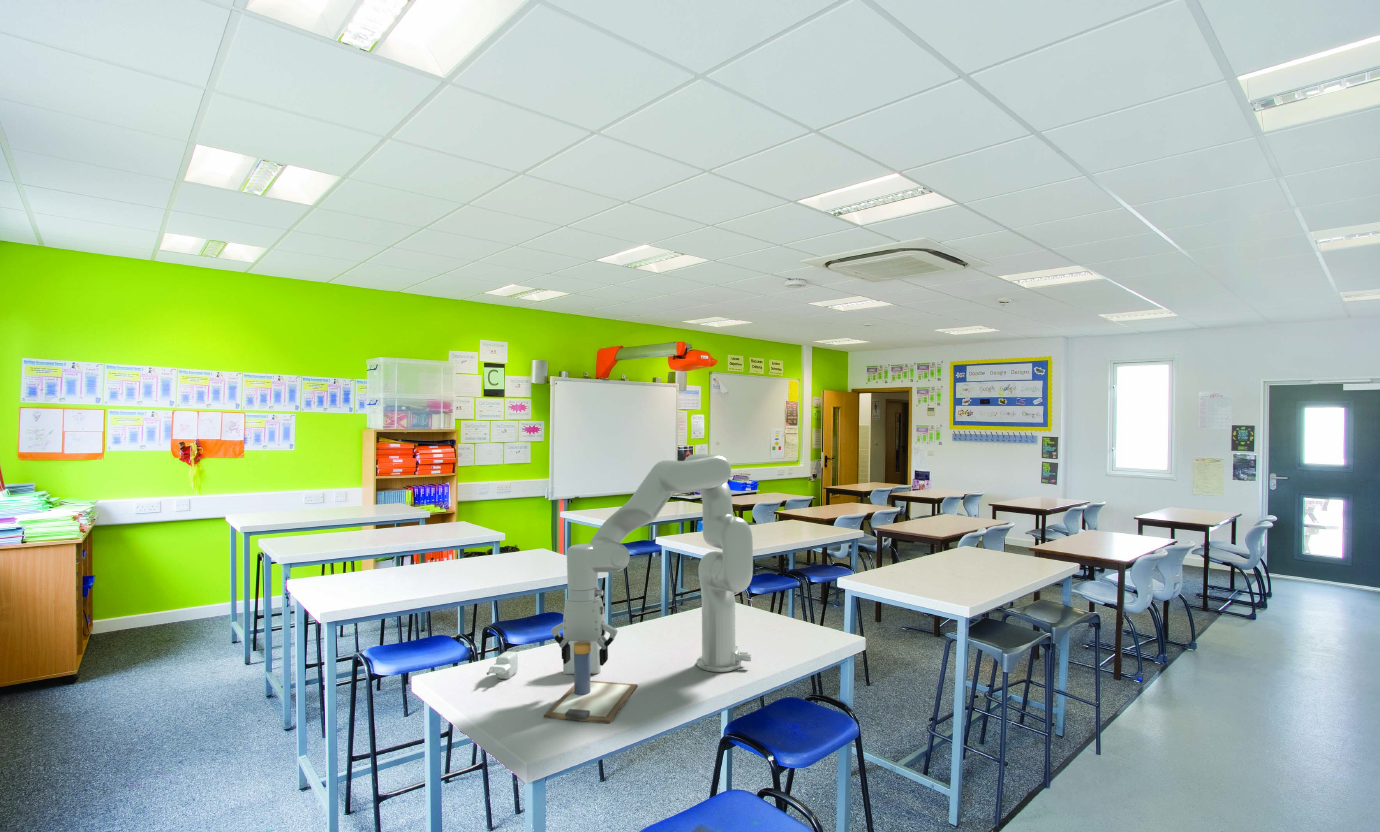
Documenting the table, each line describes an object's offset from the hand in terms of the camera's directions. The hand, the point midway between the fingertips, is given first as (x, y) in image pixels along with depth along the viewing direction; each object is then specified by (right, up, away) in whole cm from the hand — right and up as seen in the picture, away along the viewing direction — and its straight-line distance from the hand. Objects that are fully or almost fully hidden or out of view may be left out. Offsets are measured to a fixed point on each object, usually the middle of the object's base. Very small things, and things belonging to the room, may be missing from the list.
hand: (584, 662), depth 164 cm
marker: (-1, -7, -1) cm, 7 cm away
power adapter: (-24, -9, +10) cm, 27 cm away
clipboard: (+3, -8, -4) cm, 9 cm away
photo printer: (-3, -9, +15) cm, 18 cm away
